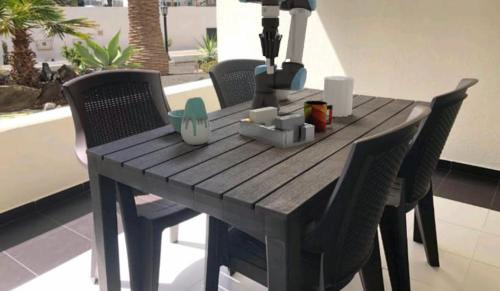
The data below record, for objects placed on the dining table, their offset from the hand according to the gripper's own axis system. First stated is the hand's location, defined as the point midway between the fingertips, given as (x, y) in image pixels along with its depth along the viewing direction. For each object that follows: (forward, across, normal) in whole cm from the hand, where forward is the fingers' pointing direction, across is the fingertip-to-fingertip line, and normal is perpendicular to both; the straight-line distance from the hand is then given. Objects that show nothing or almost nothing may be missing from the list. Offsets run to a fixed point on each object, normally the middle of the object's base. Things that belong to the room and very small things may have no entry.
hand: (270, 73), depth 179 cm
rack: (+23, +17, -13) cm, 31 cm away
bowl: (+23, -14, -35) cm, 44 cm away
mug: (+23, +19, +9) cm, 32 cm away
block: (+22, +9, -12) cm, 26 cm away
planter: (+25, -41, +43) cm, 65 cm away
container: (+25, +6, +40) cm, 48 cm away
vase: (+22, +3, -42) cm, 47 cm away
